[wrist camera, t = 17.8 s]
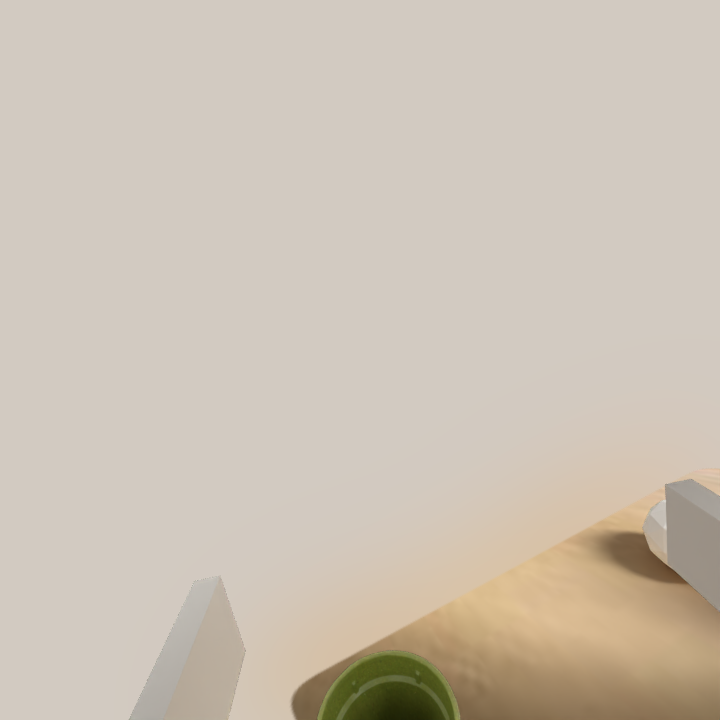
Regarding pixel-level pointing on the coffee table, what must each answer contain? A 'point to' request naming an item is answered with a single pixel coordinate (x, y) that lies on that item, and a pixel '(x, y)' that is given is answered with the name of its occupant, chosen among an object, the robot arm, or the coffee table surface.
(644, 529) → the geometric ball
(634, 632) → the coffee table surface
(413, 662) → the plant pot
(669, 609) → the coffee table surface
